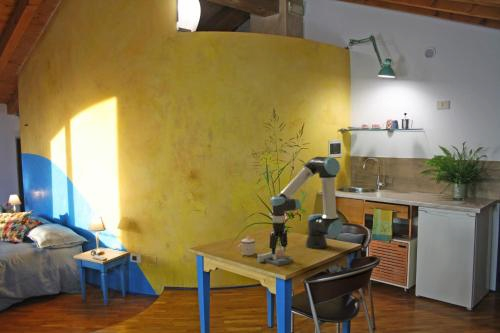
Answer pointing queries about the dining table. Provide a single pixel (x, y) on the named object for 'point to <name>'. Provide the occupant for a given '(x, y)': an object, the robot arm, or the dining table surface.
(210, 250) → the dining table surface
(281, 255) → the ball
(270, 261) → the tray
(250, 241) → the teacup with lid
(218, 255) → the dining table surface
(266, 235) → the dining table surface
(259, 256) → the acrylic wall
